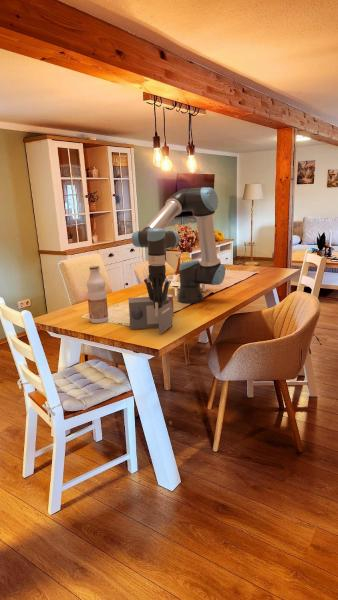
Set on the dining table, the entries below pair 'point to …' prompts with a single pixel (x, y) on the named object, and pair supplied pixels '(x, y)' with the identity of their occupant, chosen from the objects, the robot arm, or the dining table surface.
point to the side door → (165, 317)
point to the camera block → (143, 313)
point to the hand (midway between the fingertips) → (158, 315)
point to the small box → (171, 302)
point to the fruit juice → (97, 296)
